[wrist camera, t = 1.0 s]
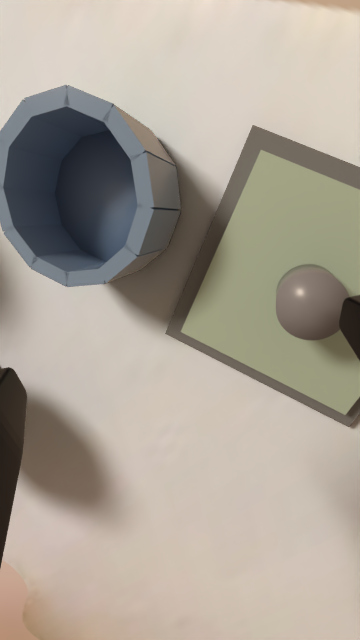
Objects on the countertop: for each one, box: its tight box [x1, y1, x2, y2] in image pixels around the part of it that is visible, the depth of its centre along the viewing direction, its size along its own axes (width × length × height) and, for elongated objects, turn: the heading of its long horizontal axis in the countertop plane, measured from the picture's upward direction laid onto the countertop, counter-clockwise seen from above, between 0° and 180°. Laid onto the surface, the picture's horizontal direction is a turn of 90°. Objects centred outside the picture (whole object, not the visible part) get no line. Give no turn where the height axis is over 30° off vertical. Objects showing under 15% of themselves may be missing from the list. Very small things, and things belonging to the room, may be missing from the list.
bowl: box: [0, 85, 181, 287], centre depth 18 cm, size 9×9×5 cm
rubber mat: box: [165, 125, 360, 427], centre depth 18 cm, size 13×13×1 cm
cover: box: [181, 150, 360, 415], centre depth 16 cm, size 11×11×4 cm
